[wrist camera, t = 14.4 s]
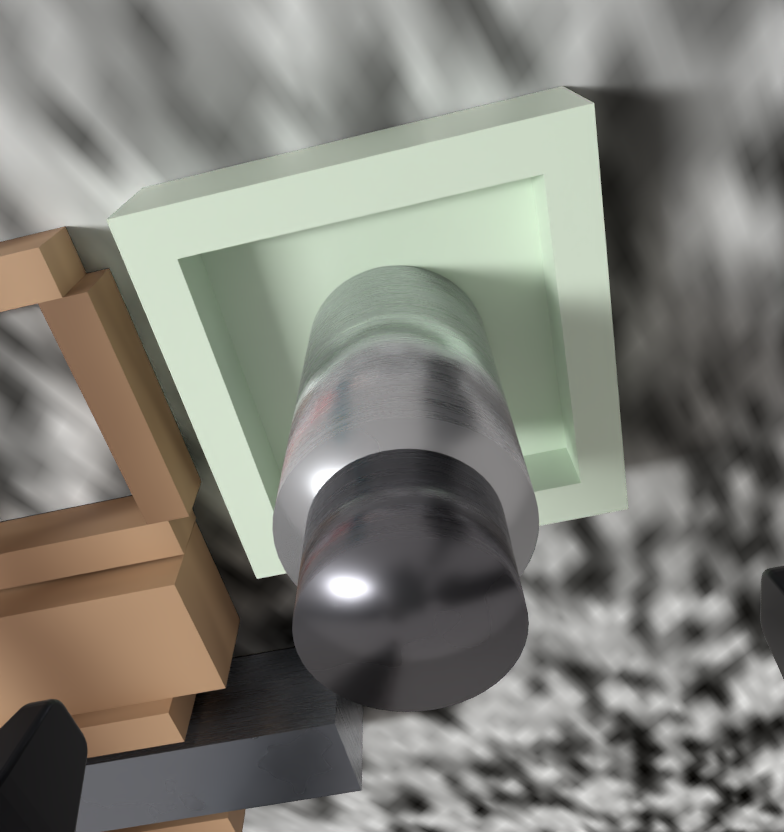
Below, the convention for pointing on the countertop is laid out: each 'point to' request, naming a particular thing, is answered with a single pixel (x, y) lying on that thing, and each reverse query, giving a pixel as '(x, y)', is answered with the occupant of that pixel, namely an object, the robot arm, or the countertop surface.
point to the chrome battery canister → (404, 498)
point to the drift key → (235, 751)
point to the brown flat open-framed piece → (111, 544)
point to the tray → (385, 246)
